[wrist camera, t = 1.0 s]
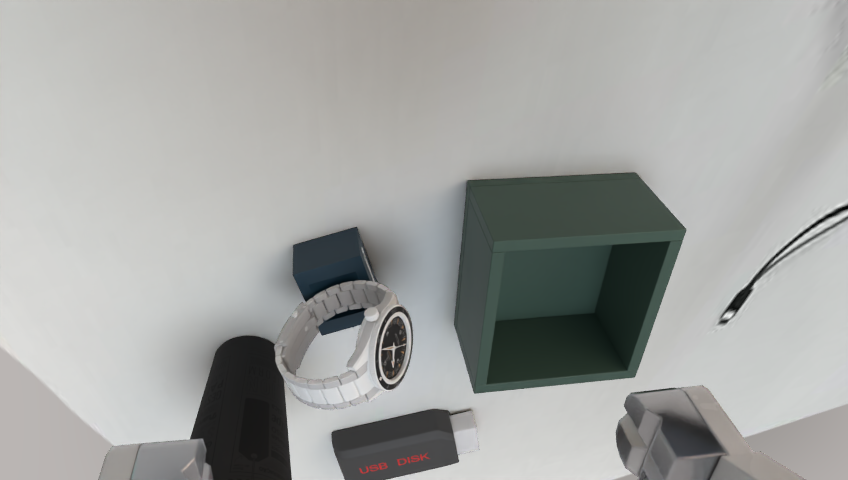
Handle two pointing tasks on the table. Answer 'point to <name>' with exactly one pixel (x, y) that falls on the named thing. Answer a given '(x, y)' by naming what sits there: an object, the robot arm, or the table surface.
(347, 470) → the usb drive
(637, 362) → the open box
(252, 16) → the table surface
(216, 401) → the drinking cup
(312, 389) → the watch
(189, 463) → the robot arm
